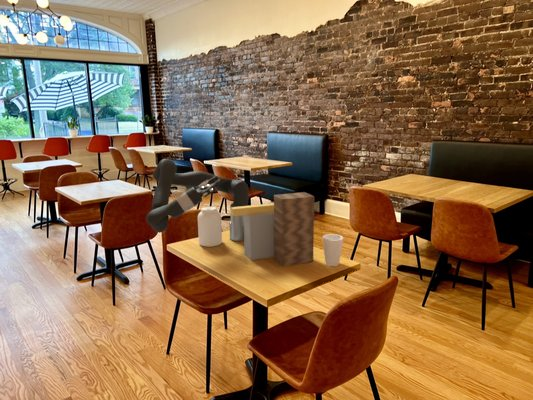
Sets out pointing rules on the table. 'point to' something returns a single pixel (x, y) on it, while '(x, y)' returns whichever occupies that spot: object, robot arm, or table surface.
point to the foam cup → (332, 249)
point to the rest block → (259, 235)
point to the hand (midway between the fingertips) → (219, 179)
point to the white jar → (209, 227)
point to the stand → (293, 228)
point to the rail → (252, 209)
